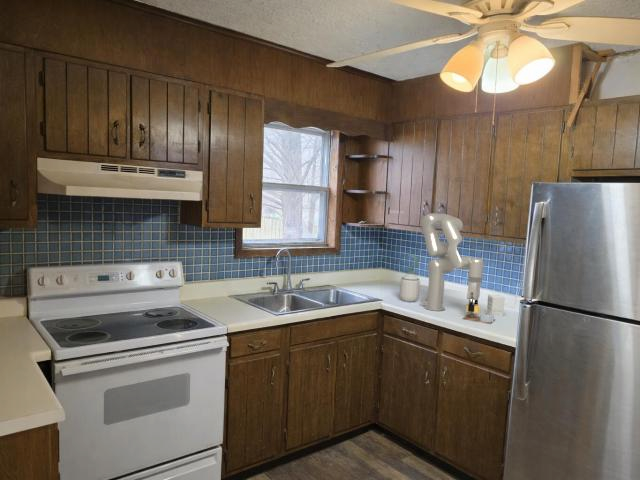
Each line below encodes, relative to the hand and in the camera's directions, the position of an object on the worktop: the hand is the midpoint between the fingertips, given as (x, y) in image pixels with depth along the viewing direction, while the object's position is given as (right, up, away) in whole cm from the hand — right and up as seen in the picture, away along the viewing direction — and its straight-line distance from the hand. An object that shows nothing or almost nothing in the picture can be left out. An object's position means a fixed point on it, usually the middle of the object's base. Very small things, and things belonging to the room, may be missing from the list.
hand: (472, 310), depth 269 cm
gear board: (+3, -6, -1) cm, 7 cm away
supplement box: (+17, -6, +11) cm, 21 cm away
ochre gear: (0, -1, 0) cm, 1 cm away
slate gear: (+7, -5, -4) cm, 9 cm away
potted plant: (-28, -1, +44) cm, 53 cm away
